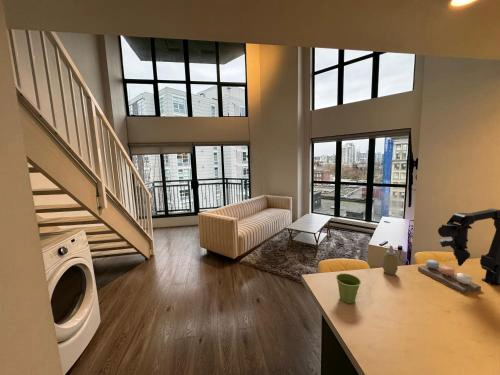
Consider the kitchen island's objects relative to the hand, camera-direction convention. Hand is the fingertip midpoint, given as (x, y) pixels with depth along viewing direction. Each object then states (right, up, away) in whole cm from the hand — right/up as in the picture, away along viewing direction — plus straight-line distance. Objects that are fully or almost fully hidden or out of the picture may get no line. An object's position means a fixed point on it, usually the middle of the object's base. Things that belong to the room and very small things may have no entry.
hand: (458, 262), depth 121 cm
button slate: (-3, -10, +14) cm, 17 cm away
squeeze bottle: (-30, -12, +14) cm, 35 cm away
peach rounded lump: (-2, -11, +5) cm, 12 cm away
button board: (-2, -12, +5) cm, 13 cm away
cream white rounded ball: (0, -12, -3) cm, 12 cm away
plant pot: (-68, -16, -10) cm, 70 cm away
